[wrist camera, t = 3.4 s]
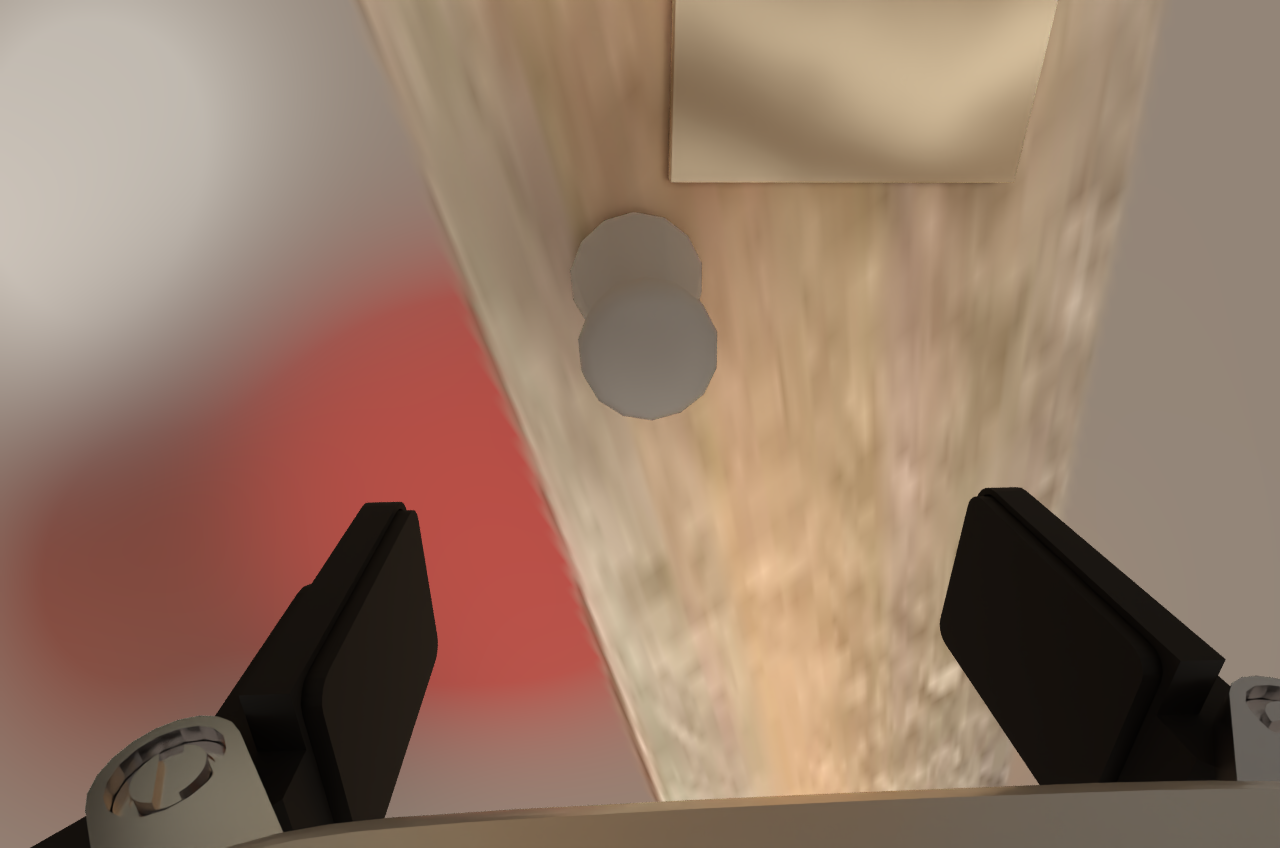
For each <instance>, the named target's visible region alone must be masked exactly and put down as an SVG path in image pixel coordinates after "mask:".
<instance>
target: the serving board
mask: <svg viewBox="0 0 1280 848" xmlns="http://www.w3.org/2000/svg"><path fill="white" fill-rule="evenodd" d="M1057 3H1058V0H672V38H671V83H670V127H669V172H668V179H669V181H670V182H736V183H1014V181H1015V177H1016V173H1017V168H1018V164H1019V160H1020V156H1021V152H1022V148H1023V144H1024V139H1025V135H1026V131H1027V127H1028V123H1029V119H1030V115H1031V110H1032V106H1033V102H1034V98H1035V94H1036V90H1037V86H1038V81H1039V77H1040V73H1041V69H1042V65H1043V61H1044V57H1045V52H1046V48H1047V44H1048V40H1049V36H1050V32H1051V28H1052V23H1053V19H1054V15H1055V11H1056V7H1057Z"/></svg>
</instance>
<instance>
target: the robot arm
mask: <svg viewBox="0 0 1280 848" xmlns="http://www.w3.org/2000/svg"><path fill="white" fill-rule="evenodd" d="M940 631H941V635H942V638H943V640H944V642H945V644H946V646H947V647H948V649H949V650H950V652H951V653H952V655H953V656H954V658H955V659H956V661H957V662H958V664H959V665H960V667H961V668H962V670H963V671H964V673H965V674H966V675H967V677H968V678H969V680H970V681H971V683H972V684H973V686H974V687H975V689H976V690H977V692H978V693H979V695H980V696H981V698H982V699H983V701H984V702H985V704H986V705H987V707H988V708H989V710H990V711H991V713H992V714H993V716H994V717H995V719H996V720H997V722H998V723H999V725H1000V726H1001V728H1002V729H1003V731H1004V732H1005V734H1006V735H1007V737H1008V738H1009V740H1010V741H1011V743H1012V744H1013V746H1014V747H1015V749H1016V750H1017V752H1018V753H1019V755H1020V756H1021V758H1022V759H1023V761H1024V762H1025V763H1026V765H1027V767H1028V768H1029V770H1030V771H1031V773H1032V774H1033V776H1034V777H1035V779H1036V780H1037V782H1038V783H1039V785H1032V786H1031V785H1030V786H1005V787H979V788H954V789H928V790H905V791H882V792H859V793H837V794H814V795H792V796H770V797H749V798H727V799H705V800H685V801H666V802H646V803H627V804H607V805H588V806H568V807H548V808H529V809H512V810H496V811H483V812H482V811H481V812H466V813H452V814H438V815H423V816H408V817H393V818H385V815H386V812H387V809H388V806H389V803H390V800H391V796H392V793H393V790H394V787H395V784H396V781H397V778H398V775H399V772H400V769H401V766H402V762H403V759H404V756H405V753H406V750H407V747H408V744H409V741H410V738H411V735H412V731H413V728H414V725H415V722H416V719H417V716H418V713H419V710H420V707H421V704H422V701H423V698H424V695H425V691H426V688H427V685H428V682H429V679H430V676H431V673H432V670H433V667H434V663H435V660H436V656H437V648H438V639H437V632H436V625H435V619H434V613H433V608H432V601H431V594H430V588H429V582H428V576H427V570H426V564H425V558H424V552H423V545H422V539H421V533H420V527H419V521H418V516H417V513H416V512H415V511H414V510H406V507H405V505H404V504H403V503H402V502H379V503H378V502H377V503H376V502H375V503H365V504H364V505H363V506H362V508H361V509H360V511H359V513H358V514H357V516H356V517H355V519H354V520H353V522H352V523H351V525H350V526H349V528H348V529H347V531H346V532H345V534H344V535H343V537H342V538H341V540H340V541H339V543H338V544H337V546H336V548H335V549H334V551H333V552H332V554H331V555H330V557H329V558H328V560H327V561H326V563H325V564H324V566H323V567H322V569H321V571H320V572H319V573H318V575H317V576H316V578H315V579H314V581H313V583H312V584H309V585H307V586H304V587H303V588H302V589H301V590H300V591H299V592H298V594H297V595H296V597H295V598H294V600H293V601H292V602H291V604H290V605H289V607H288V609H287V610H286V611H285V613H284V614H283V616H282V617H281V619H280V620H279V622H278V623H277V625H276V626H275V628H274V629H273V631H272V632H271V634H270V635H269V637H268V638H267V640H266V641H265V643H264V644H263V646H262V647H261V648H260V650H259V652H258V653H257V654H256V656H255V657H254V659H253V660H252V662H251V663H250V665H249V666H248V668H247V670H246V671H245V672H244V674H243V675H242V677H241V678H240V680H239V681H238V683H237V684H236V686H235V687H234V689H233V690H232V692H231V693H230V695H229V696H228V698H227V699H226V700H225V702H224V703H223V705H222V706H221V708H220V710H219V711H218V713H217V714H216V715H215V716H196V717H190V718H185V719H181V720H177V721H174V722H172V723H169V724H166V725H164V726H161V727H159V728H156V729H154V730H152V731H151V732H149V733H147V734H145V735H144V736H142V737H140V738H138V739H137V740H135V741H133V742H132V743H131V744H129V745H128V746H127V747H126V748H124V749H123V750H122V751H120V752H119V753H118V754H117V755H115V756H114V757H113V758H112V759H111V760H110V761H109V762H108V764H107V765H106V766H105V767H104V768H103V769H102V770H101V772H100V773H99V774H98V775H97V776H96V778H95V780H94V782H93V784H92V786H91V788H90V790H89V791H88V793H87V799H86V807H85V813H86V816H85V817H84V818H82V819H80V820H78V821H77V822H75V823H73V824H71V825H70V826H68V827H66V828H64V829H63V830H61V831H59V832H57V833H55V834H54V835H52V836H50V837H48V838H47V839H45V840H43V841H41V842H40V843H38V844H36V845H35V846H33V847H31V848H1280V679H1278V678H1271V677H1263V676H1249V677H1241V678H1240V679H1238V680H1236V681H1235V682H1233V683H1232V684H1231V686H1229V685H1228V684H1227V683H1226V682H1225V681H1224V680H1222V679H1221V678H1220V677H1219V676H1218V674H1219V672H1220V670H1221V668H1222V666H1223V664H1224V662H1225V659H1224V658H1223V657H1222V656H1221V655H1220V654H1219V653H1217V652H1216V651H1215V650H1214V649H1213V648H1211V647H1210V646H1209V645H1208V644H1207V643H1206V642H1204V641H1203V640H1202V639H1201V638H1200V637H1198V636H1197V635H1196V634H1195V633H1194V632H1193V631H1191V630H1190V629H1189V628H1188V627H1187V626H1185V625H1184V624H1183V623H1182V622H1181V621H1179V620H1178V619H1177V618H1176V617H1175V616H1173V615H1172V614H1171V613H1170V612H1169V611H1168V610H1167V609H1165V608H1164V607H1163V606H1162V605H1161V604H1159V603H1158V602H1157V601H1156V600H1155V599H1153V598H1152V597H1151V596H1150V595H1149V594H1148V593H1146V592H1145V591H1144V590H1143V589H1142V588H1140V587H1139V586H1138V585H1137V584H1136V583H1135V582H1133V581H1132V580H1131V579H1130V578H1129V577H1127V576H1126V575H1125V574H1124V573H1123V572H1121V571H1120V570H1119V569H1118V568H1117V567H1116V566H1114V565H1113V564H1112V563H1111V562H1110V561H1108V560H1107V559H1106V558H1105V557H1104V556H1102V555H1101V554H1100V553H1099V552H1098V551H1096V549H1094V548H1093V547H1092V546H1091V545H1090V544H1088V543H1087V542H1086V541H1085V540H1084V539H1083V538H1081V537H1080V536H1079V535H1077V534H1076V533H1075V532H1074V531H1073V530H1072V529H1071V528H1070V527H1068V526H1067V525H1066V524H1065V523H1064V522H1062V521H1061V520H1060V519H1059V518H1058V517H1056V516H1055V515H1054V514H1053V513H1052V512H1051V511H1049V510H1048V509H1047V508H1046V507H1045V506H1043V505H1042V504H1041V503H1040V502H1039V501H1038V500H1036V499H1035V498H1034V497H1033V496H1032V495H1030V494H1029V493H1028V492H1027V491H1026V490H1024V489H1022V488H1018V487H1009V488H985V489H983V490H981V492H980V493H979V494H978V497H973V498H972V499H971V500H970V501H969V504H968V508H967V512H966V516H965V520H964V524H963V528H962V532H961V536H960V540H959V545H958V549H957V553H956V557H955V561H954V565H953V569H952V573H951V577H950V582H949V586H948V590H947V594H946V598H945V602H944V606H943V610H942V614H941V619H940Z"/></svg>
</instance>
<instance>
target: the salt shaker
mask: <svg viewBox="0 0 1280 848" xmlns="http://www.w3.org/2000/svg"><path fill="white" fill-rule="evenodd" d="M570 272H571V282H572V291H573V300H574V302H575V303H576V305H577V307H578V308H579V310H580V312H581V314H582V315H583V317H584V319H585V323H584V325H583V328H582V330H581V332H580V335H579V339H578V342H579V352H580V362H581V370H582V372H583V375H584V377H585V379H586V380H587V382H588V383H589V385H590V387H591V388H592V390H593V392H594V393H595V395H596V397H597V398H598V400H599V401H600V402H602V403H604V404H605V405H607V406H608V407H610V408H612V409H613V410H615V411H617V412H618V413H620V414H621V415H623V416H628V417H634V418H641V419H647V420H655V419H659V418H662V417H666V416H669V415H673V414H676V413H680V412H682V411H683V410H684V409H685V408H687V407H688V406H689V405H691V404H692V403H693V402H694V401H696V400H697V399H698V398H700V397H701V396H702V395H703V394H704V392H705V390H706V388H707V386H708V384H709V382H710V380H711V378H712V376H713V374H714V372H715V370H716V363H717V331H716V329H715V327H714V325H713V323H712V321H711V319H710V317H709V315H708V313H707V311H706V309H705V308H704V306H703V304H702V303H701V301H700V296H701V291H702V262H701V260H700V258H699V256H698V254H697V252H696V250H695V248H694V246H693V245H692V243H691V241H690V239H689V237H688V235H686V234H685V233H684V232H682V231H681V230H680V229H679V228H677V227H676V226H675V225H673V224H672V223H671V222H669V221H668V220H667V219H666V218H664V217H659V216H653V215H648V214H642V213H636V212H631V213H628V214H624V215H621V216H618V217H614V218H611V219H607V220H604V221H603V222H602V223H601V224H600V225H599V226H598V227H597V228H595V229H594V230H593V231H592V232H591V233H590V234H589V235H588V236H587V237H586V238H585V239H584V240H583V241H582V242H581V244H580V246H579V249H578V252H577V254H576V257H575V260H574V262H573V265H572V267H571V270H570Z"/></svg>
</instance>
